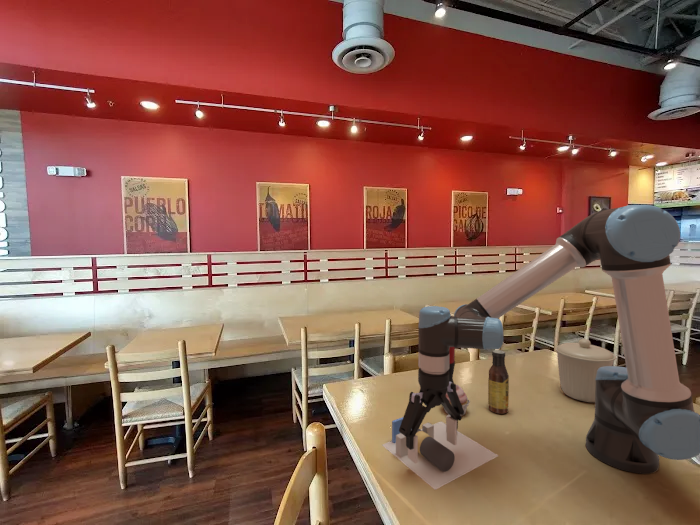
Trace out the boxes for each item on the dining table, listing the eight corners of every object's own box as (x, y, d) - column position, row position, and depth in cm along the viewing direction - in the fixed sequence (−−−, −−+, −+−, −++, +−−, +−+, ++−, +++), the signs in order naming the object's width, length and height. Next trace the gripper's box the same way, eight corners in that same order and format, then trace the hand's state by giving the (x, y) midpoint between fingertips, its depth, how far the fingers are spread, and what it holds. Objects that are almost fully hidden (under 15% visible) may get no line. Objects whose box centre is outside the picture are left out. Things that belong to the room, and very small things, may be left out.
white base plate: (498, 458, 89) (499, 433, 88) (435, 493, 77) (435, 464, 76) (441, 423, 106) (441, 402, 105) (381, 447, 94) (381, 423, 93)
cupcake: (450, 423, 106) (450, 391, 105) (435, 408, 115) (435, 380, 114) (476, 418, 108) (476, 388, 108) (459, 405, 117) (459, 376, 117)
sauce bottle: (510, 415, 110) (512, 355, 109) (490, 414, 111) (491, 354, 110) (505, 406, 116) (506, 349, 115) (486, 404, 118) (487, 348, 116)
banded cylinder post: (453, 469, 84) (455, 448, 84) (438, 473, 81) (441, 452, 81) (419, 444, 94) (421, 426, 94) (405, 447, 91) (407, 428, 92)
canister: (564, 405, 117) (566, 345, 116) (547, 383, 135) (548, 331, 133) (625, 411, 113) (628, 348, 111) (599, 388, 130) (601, 333, 129)
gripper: (456, 355, 95) (455, 429, 96) (384, 374, 82) (384, 459, 83) (479, 363, 88) (477, 442, 90) (405, 385, 75) (404, 477, 77)
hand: (432, 451), depth 86 cm, fingers open, 13 cm apart
